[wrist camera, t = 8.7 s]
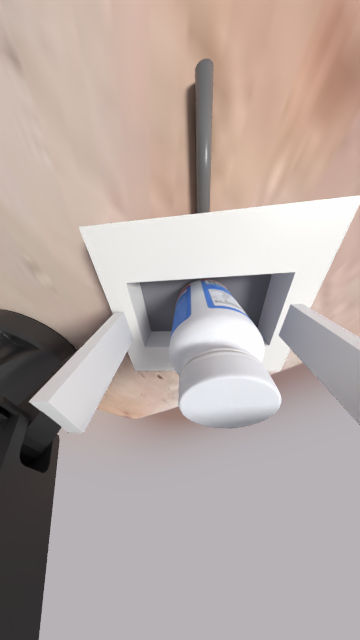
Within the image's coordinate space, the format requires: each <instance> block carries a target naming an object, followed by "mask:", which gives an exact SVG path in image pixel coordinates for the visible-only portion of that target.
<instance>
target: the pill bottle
mask: <svg viewBox="0 0 360 640" xmlns="http://www.w3.org/2000/svg"><path fill="white" fill-rule="evenodd" d="M264 352H265V347H264V341H263V338H262V336H261V334H260V332H259V330H258V329H257V327H256V326H255V325H254V323H253V322H252V321H251V319H250V318H249V317H248V315H247V314H246V313H245V311H244V310H243V309H242V308H241V306H240V305H239V304H238V302H237V301H236V300H235V299H234V297H233V296H232V295H231V293H230V292H229V291H228V290H227V288H226V287H225V286H223V285H222V284H221V283H219V282H217V281H214V280H210V279H200V280H196V281H193V282H191V283H190V284H188V285H187V286H185V287H184V288H183V290H182V291H181V292H180V294H179V296H178V299H177V302H176V307H175V313H174V319H173V326H172V332H171V338H170V345H169V358H170V362H171V364H172V366H173V368H174V370H175V371H176V372H177V373H178V374H179V408H180V410H181V412H182V413H183V415H185V417H187V418H188V419H189V420H191V421H193V422H195V423H197V424H200V425H203V426H208V427H213V428H238V427H245V426H250V425H253V424H256V423H259V422H261V421H264V420H266V419H267V418H269V417H270V416H272V415H273V414H274V413H275V412H276V411H277V410H278V408H279V407H280V404H281V396H280V393H279V390H278V389H277V387H276V385H275V383H274V382H273V380H272V378H271V376H270V375H269V373H268V370H267V368H266V367H265V365H264V364H263V363H262V360H263V357H264Z"/></svg>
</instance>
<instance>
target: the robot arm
mask: <svg viewBox="0 0 360 640" xmlns="http://www.w3.org/2000/svg"><path fill="white" fill-rule="evenodd" d="M278 336H279V337H280V338H281V339H282V340H283V341H284V342H285V343H286V344H287V345H288V347H289V348H290V349H291V350H292V351H293V352H294V353H295V354H296V355H297V356H298V358H299V359H300V360H301V361H302V362H303V363H304V364H305V365H306V366H307V367H308V369H310V371H311V372H312V373H313V374H314V375H315V376H316V377H317V378H318V379H319V381H320V382H321V383H322V384H323V385H324V386H325V387H326V388H327V389H328V390H329V392H330V393H331V394H332V395H333V396H334V397H335V398H336V399H337V400H338V401H339V403H340V404H341V405H342V406H343V407H344V408H345V409H346V410H347V411H348V412H349V413H350V414H351V416H352V417H353V418H354V419H355V420H356V421H357V422H358V423H359V425H360V337H358V336H356V335H355V334H353V333H351V332H349V331H348V330H346V329H344V328H343V327H341V326H339V325H338V324H336V323H334V322H332V321H331V320H329V319H327V318H326V317H324V316H322V315H321V314H319V313H317V312H316V311H314V310H312V309H310V308H309V307H307V306H305V305H304V304H290V307H289V309H288V312H287V315H286V317H285V320H284V322H283V325H282V328H281V330H280V333H279V335H278ZM132 341H133V337H132V334H131V331H130V328H129V325H128V322H127V319H126V316H125V313H124V312H119V313H114V314H113V315H112V316H111V317H110V318H109V319H108V320H107V321H106V322H105V323H104V324H103V325H102V326H101V327H100V328H99V329H98V330H97V331H96V333H95V334H94V335H93V336H92V337H91V338H90V339H89V340H88V341H87V342H86V343H85V344H84V345H83V346H82V347H81V348H80V349H79V350H78V351H76V350H75V349H74V348H73V347H72V346H71V345H70V344H69V343H68V342H67V341H66V340H65V339H64V338H63V337H61V336H60V335H59V334H58V333H56V332H55V331H53V330H52V329H50V328H49V327H47V326H45V325H43V324H42V323H40V322H38V321H36V320H34V319H31V318H29V317H26V316H24V315H21V314H18V313H14V312H11V311H6V310H0V640H39V630H40V621H41V612H42V602H43V591H44V583H45V573H46V563H47V553H48V544H49V535H50V525H51V516H52V507H53V497H54V487H55V478H56V468H57V459H58V449H59V436H58V435H57V433H58V432H59V430H60V429H61V427H62V428H63V429H64V430H66V431H67V432H68V433H84V431H85V430H86V428H87V426H88V424H89V422H90V420H91V418H92V416H93V414H94V413H95V411H96V409H97V407H98V405H99V403H100V401H101V400H102V398H103V396H104V394H105V392H106V390H107V388H108V386H109V385H110V383H111V381H112V379H113V377H114V375H115V373H116V371H117V370H118V368H119V366H120V364H121V362H122V360H123V358H124V356H125V355H126V353H127V351H128V349H129V347H130V345H131V343H132Z"/></svg>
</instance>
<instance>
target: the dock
mask: <svg viewBox="0 0 360 640" xmlns="http://www.w3.org/2000/svg"><path fill="white" fill-rule="evenodd" d="M195 98H196V181H197V214H190V215H181V216H172V217H163V218H154V219H145V220H136V221H127V222H119V223H110V224H101V225H92V226H83V227H79V229H80V232H81V234H82V237H83V239H84V242H85V245H86V247H87V250H88V252H89V255H90V257H91V260H92V262H93V265H94V267H95V270H96V273H97V275H98V278H99V280H100V283H101V285H102V288H103V290H104V293H105V295H106V298H107V301H108V303H109V306H110V308H111V311H112V313H113V314H114V313H119V312H124V313H125V316H126V319H127V322H128V325H129V328H130V331H131V334H132V337H133V341H132V343H131V345H130V347H129V349H128V354H129V357H130V359H131V362H132V364H133V367H134V369H135V371H175V370H174V368H173V366H172V364H171V362H170V358H169V345H170V338H171V332H172V326H173V319H174V313H175V307H176V302H177V299H178V296H179V294H180V292H181V291H182V290H183V288H184V287H185V286H187V285H188V284H190V283H191V282H193V281H196V280H200V279H210V280H214V281H217V282H219V283H221V284H222V285H223V286H225V287H226V288H227V290H228V291H229V292H230V293H231V295H232V296H233V297H234V299H235V300H236V301H237V302H238V304H239V305H240V306H241V308H242V309H243V310H244V311H245V313H246V314H247V315H248V317H249V318H250V319H251V321H252V322H253V323H254V325H255V326H256V327H257V329H258V330H259V332H260V334H261V336H262V338H263V341H264V347H265V352H264V357H263V360H262V363H263V364H264V365H265V367H266V368H267V370H268V371H280V370H281V368H282V366H283V364H284V362H285V360H286V358H287V356H288V354H289V352H290V348H289V347H288V345H287V344H286V343H285V342H284V341H283V340H282V339H281V338H280V337H279V336H278V335H279V333H280V330H281V328H282V325H283V322H284V320H285V317H286V315H287V312H288V309H289V307H290V304H304V305H305V306H307V307H309V308H310V307H311V305H312V303H313V301H314V299H315V297H316V295H317V293H318V291H319V289H320V286H321V284H322V282H323V280H324V278H325V276H326V274H327V272H328V270H329V268H330V265H331V263H332V261H333V259H334V257H335V255H336V253H337V251H338V249H339V246H340V244H341V242H342V240H343V238H344V236H345V234H346V232H347V230H348V228H349V225H350V223H351V221H352V219H353V217H354V215H355V213H356V211H357V209H358V207H359V204H360V196H351V197H342V198H333V199H324V200H315V201H306V202H297V203H288V204H279V205H270V206H261V207H252V208H243V209H235V210H226V211H217V212H210V175H211V137H212V100H213V62H212V61H211V60H210V59H203V60H201V61H200V62H199V63H198V64H197V66H196V69H195Z"/></svg>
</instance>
